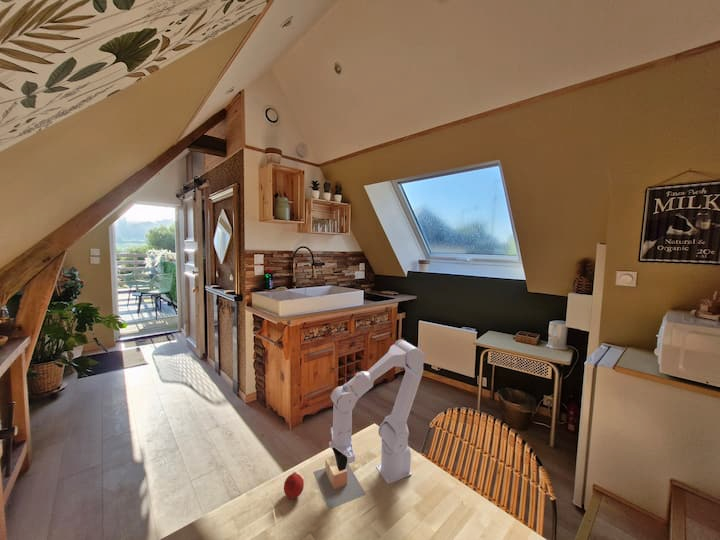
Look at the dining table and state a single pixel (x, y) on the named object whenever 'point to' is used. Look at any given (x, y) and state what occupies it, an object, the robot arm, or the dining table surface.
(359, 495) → the mat
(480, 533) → the dining table surface
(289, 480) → the onion
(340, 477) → the beech block
